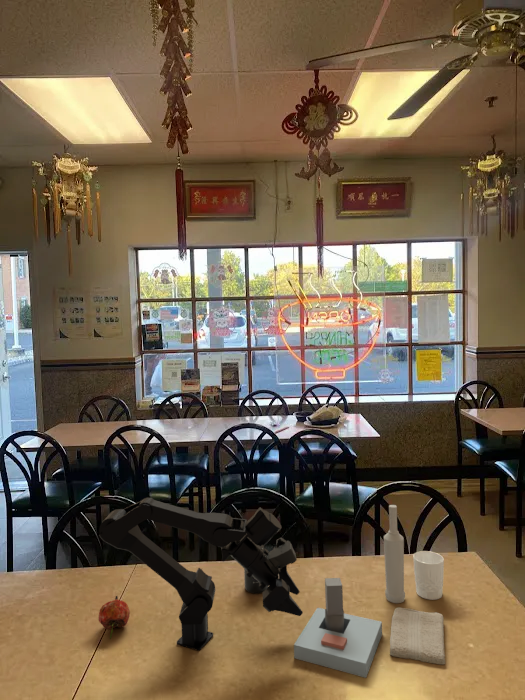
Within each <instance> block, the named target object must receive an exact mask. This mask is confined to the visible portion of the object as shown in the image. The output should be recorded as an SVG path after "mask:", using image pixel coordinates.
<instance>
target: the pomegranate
mask: <svg viewBox="0 0 525 700" xmlns="http://www.w3.org/2000/svg"><path fill="white" fill-rule="evenodd" d="M118 598H119V597H118V595H115V598H114V599H113V600H110V601H107V602H106V603H104V604H102V606H101V608H99V611H98V622H99V623H100V625H102V627H103V628H105V629H107V630H110V636H109V639H110V640H111V639H112V635H113V632H114V629H115V628H124V627H126V625H127V624H128V621H129V619H130V613H131V611H130V608H129V605H128V603H127V602H126V601H124V600H119V599H118Z"/></svg>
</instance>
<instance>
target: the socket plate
mask: <svg viewBox="0 0 525 700" xmlns="http://www.w3.org/2000/svg"><path fill="white" fill-rule="evenodd" d="M325 609H326V608H323V607H316V609H315V610H314V612H313V614H312V615H311V617H310V619H309V620H308V622H307V624H306V625H305V627H304V628H303V630H302V631H301V633H300V634H299V636H298V638H297V639H296V640H295V642H294V644H293V656H294V657H293V658H294V659H297V660H299V661H304V662H307V663H311V664H315V665H318V666H322V667H326V668H329V669H333V670H336V671H340V672H344V673H347V674H351V675H355V676H358V677H361V678H365V679H366V678H367V676H368V673H369V671H370V668H371V666H372V662H373V660H374V658H375V654H376V652H377V649H378V646H379V643H380V641H381V639H382V635H383V621H381V620H375V619H371V618H367V617H362V616H359V615H353V614H348V613H345V612H344V631H345V632H344V634H342V633H338V632H334V631H330V630H326V625H325Z"/></svg>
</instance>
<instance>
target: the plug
mask: <svg viewBox="0 0 525 700" xmlns="http://www.w3.org/2000/svg"><path fill="white" fill-rule="evenodd" d="M324 591H325V592H324V593H325V596H324V597H325V608H324V609H325V625H326V629H325V630H330V631H334V632H338V633H342V634H344V632H345V631H344V613H345V611H344V596H343V595H344V594H343V583H342V580H341V577H326V578H324Z"/></svg>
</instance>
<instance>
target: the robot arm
mask: <svg viewBox="0 0 525 700" xmlns="http://www.w3.org/2000/svg"><path fill="white" fill-rule="evenodd" d="M147 520H148V521H150V522H151V521H152V522H155V523H158V524H161V525H166V526H169V527H171V528H172V527H173V528H175V529H178V530H183V531H186V532H188V533H192V534H195V535H197V536H198V537H199V538H201V539H202V540H203V541H205V543H208V544H211V545H212V546H215V547H218V548H221V549H220V551H221V562H225V561H226V560H227V559H228V558H229V557H230V556H231V558H233V559H234V561H235V562H237V563H238V564H239V565H240V566H241V567H242V568H243V569H245V570H246V571H247V573H246V575H247V576H248V577H249V578H250V577H251V576H253V577H254V578H255V579H256V580H257V581H258V582H259V587H260V588H261V589H262V590H263V589H264V588H265V587H266V586H268V588H267V589H266V590H265V591H264V592H262V607H263V608H264V609H265V610H266V611H267V612H268V613H271V612H274V611H275V612H281V613H287V614H290V615H294V616H298V617H300V616H302V615H303V610H302V609H301V608H300V605H298V604H297V602H296V601H295V599H293V597H292V595H290V593H291V594H293V595H299V593H301V592H300V590H299V588H298V586H297V585H296V583H295V582H294V580H293V578H292V577H291V575H290V574H289V572H288V567H287V566H288V565H291V564H292V565H293V564H294V563H295V562H296V561H297V553H296V551H295V549H294V548H293V545H292V543H291V541H290V540H286V539H284V538H283V537H279V538H278V539H276V543H275V544H276V546H273V549H272V550H270V551H269V549H267V548H265V547H264V548H263V549H262V550H261V549H260V548H259V547H258V546H257V545H259V546H262V545H264V546H266V545H267V544H268V542H269V541H271V539H272V538H274V536H275V535H277V534H278V532H279V531H281V529H282V525H281V522H280V521H279V520H278V519H277V518H276V516H275V515H274V514H273V513H271V512H269V511H268V510H266V509H263V507H258V509H256V511H255V513H254V514H253V515H252V516H251V517H250V518H249V519H246V518H237V517H232V516H231V515H229V514H228V513H220V512H205V513H204V512H198V511H194V510H191V509H186V508H183V507H180V506H176V505H173V504H169V503H166V502H162V501H160V500H156V499H154V498H152V497H144V498H143V499H141V500H140V501H138V502H136V503H133V504H131V505H129V506H127V507H125V508H120V509H119V508H118V509H114V510H112V511H111V512H110V513H108V515H107V517H105V519H104V520H102V522H100V524H99V528H98V533H99V535H98V536H99V538H100V539H101V540H102V541H103V542H105V543H107V544H108V545H110V546H112V547H114V548H115V549H119V550H124V551H127V552H130V554H133V556H135V557H136V558H137V559H138V560H140V561H141V562H142V563H143V564H144V565H146V566H147V567H148V568H149V569H150V570H152V571H153V572H154V573H156V575H158V576H159V577H160V578H161V579H163V580H164V581H166V582H167V583H168V584H169V585H170V586H172V587H173V588H174V589H175V590H176V592H177V593H178V595H179V598H180V599H181V601H182V606H181V608H180V611H179V614H178V615H179V616H178V619H179V621H180V623H181V625H180V626H181V637H179V638H178V639H177V640H176V645H179V646H182V647H186V648H188V649H192V650H195V651H200V650H202V649H203V647H204V646H205V645H207V643H209V641H210V640H211V639H212V638H213V637H214V632H212V631H209V618H208V617H209V616H208V613H209V612H210V611H211V609H212V608H213V603H214V599H215V596H216V595H215V594H216V584H215V582H214V581H213V577H212V576H211V575H209V574H206V572H205V571H204V570H203V569H202V568H201V567H198V568H197V569H196V571H192V570H188V569H187V568H186V567H185V566H183V565H182V564H181V563H179V562H178V561H177V560H175V558H173V557H172V556H171V555H170V554H168V553H167V552H166V551H165V550H163V548H161V547H160V546H159V545H157V544H156V543H155V542H154V541H152V540H151V539H150V538H148V536H146V535H145V534H144V533H143V532H142V530H141V529H140V527H139V524H141V523H143V522H145V521H147Z"/></svg>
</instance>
